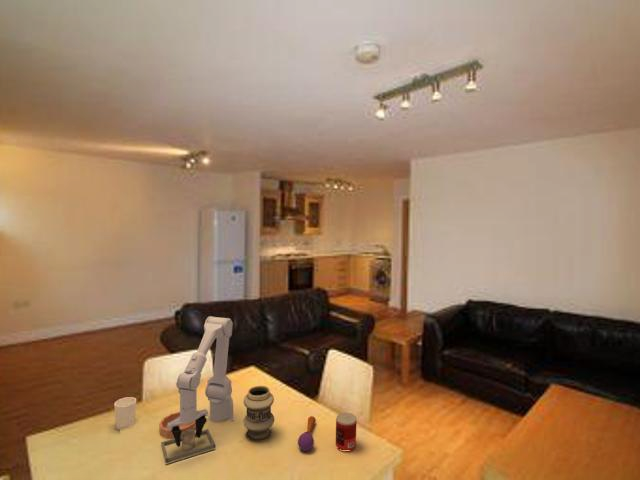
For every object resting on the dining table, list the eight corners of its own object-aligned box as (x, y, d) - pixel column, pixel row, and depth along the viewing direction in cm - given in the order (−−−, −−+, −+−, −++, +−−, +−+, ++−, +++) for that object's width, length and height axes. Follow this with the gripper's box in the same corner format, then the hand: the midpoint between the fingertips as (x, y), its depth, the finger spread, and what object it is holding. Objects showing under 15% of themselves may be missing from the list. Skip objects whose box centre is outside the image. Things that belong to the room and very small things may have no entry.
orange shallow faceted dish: (192, 417, 153) (192, 408, 153) (200, 434, 141) (200, 424, 141) (157, 426, 146) (157, 417, 146) (162, 444, 134) (162, 434, 134)
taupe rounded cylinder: (191, 442, 135) (191, 428, 135) (196, 447, 132) (196, 433, 132) (179, 447, 132) (179, 432, 132) (185, 452, 129) (185, 438, 129)
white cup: (127, 432, 142) (126, 407, 141) (109, 429, 143) (109, 405, 143) (140, 421, 149) (140, 398, 149) (124, 419, 151) (124, 395, 150)
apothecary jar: (237, 434, 142) (237, 390, 141) (261, 422, 151) (261, 380, 150) (255, 447, 134) (256, 401, 133) (280, 434, 143) (280, 390, 142)
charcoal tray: (207, 434, 141) (207, 429, 141) (215, 450, 132) (215, 444, 132) (161, 447, 133) (161, 442, 133) (165, 465, 123) (165, 459, 123)
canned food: (357, 442, 139) (358, 414, 138) (352, 454, 131) (353, 425, 131) (338, 437, 141) (339, 410, 141) (332, 449, 134) (333, 421, 133)
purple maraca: (320, 415, 150) (314, 440, 131) (317, 429, 150) (310, 456, 130) (306, 411, 151) (298, 435, 131) (303, 425, 151) (295, 451, 131)
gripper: (202, 394, 139) (201, 428, 140) (163, 407, 129) (164, 444, 130) (210, 401, 134) (210, 436, 135) (171, 415, 124) (171, 453, 125)
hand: (188, 440), depth 132 cm, fingers open, 7 cm apart
